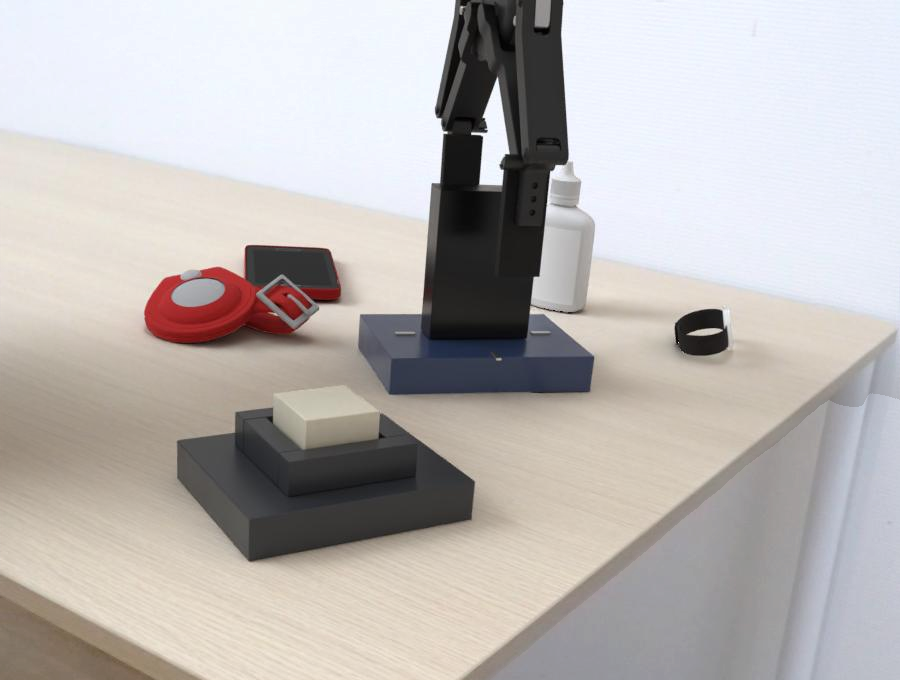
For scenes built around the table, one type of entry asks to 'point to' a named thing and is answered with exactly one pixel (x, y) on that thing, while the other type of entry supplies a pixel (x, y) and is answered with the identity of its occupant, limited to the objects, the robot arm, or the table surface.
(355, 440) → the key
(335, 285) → the cell phone
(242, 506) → the stepped push button
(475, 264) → the black upright rectangular block
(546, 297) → the eye dropper bottle
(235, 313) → the tracker holder
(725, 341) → the watch
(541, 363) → the navy base plate
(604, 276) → the table surface
